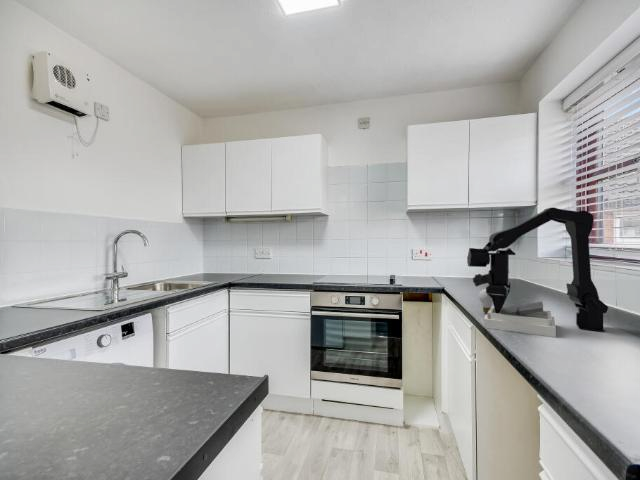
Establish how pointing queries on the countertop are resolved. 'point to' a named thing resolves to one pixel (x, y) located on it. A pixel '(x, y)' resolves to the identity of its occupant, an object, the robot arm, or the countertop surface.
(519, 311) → the panel
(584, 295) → the robot arm
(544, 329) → the breaker box
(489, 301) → the light bulb
